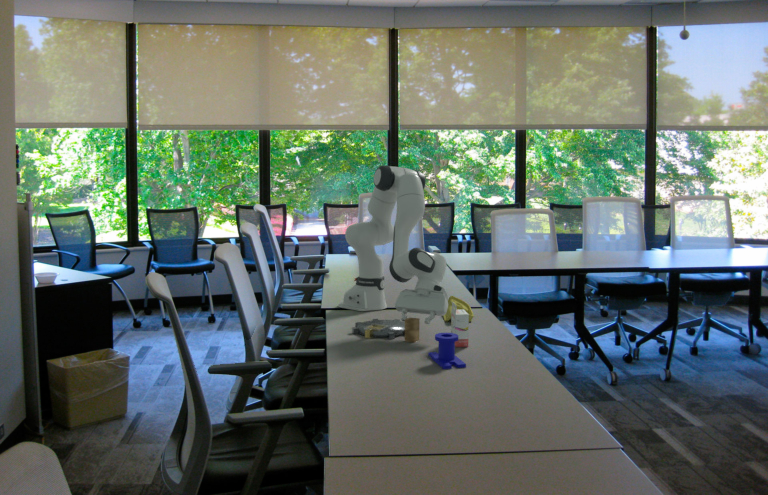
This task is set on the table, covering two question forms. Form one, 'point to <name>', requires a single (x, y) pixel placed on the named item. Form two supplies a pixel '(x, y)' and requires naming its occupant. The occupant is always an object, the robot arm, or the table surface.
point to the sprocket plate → (380, 328)
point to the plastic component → (460, 305)
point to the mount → (446, 351)
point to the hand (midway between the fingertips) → (415, 322)
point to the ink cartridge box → (460, 325)
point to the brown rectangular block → (412, 329)
